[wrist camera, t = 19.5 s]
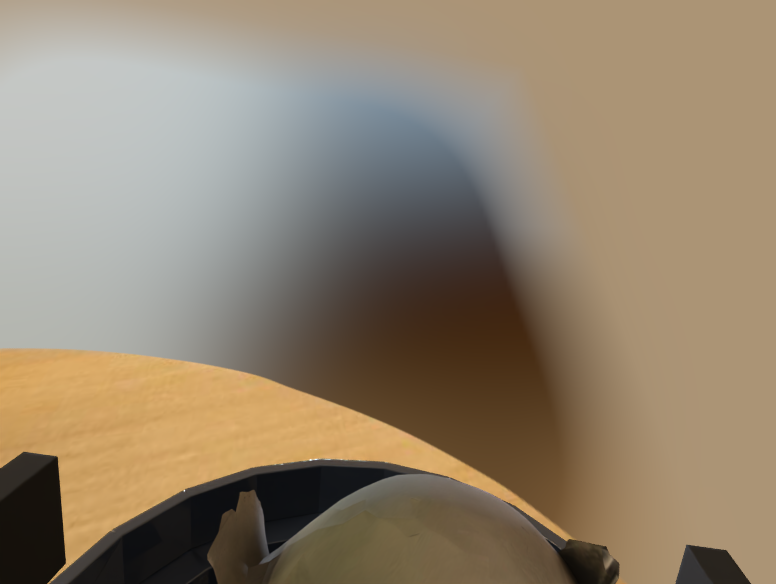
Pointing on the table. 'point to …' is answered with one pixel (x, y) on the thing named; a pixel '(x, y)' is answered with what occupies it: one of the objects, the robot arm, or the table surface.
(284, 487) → the dark grey dish
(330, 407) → the table surface
